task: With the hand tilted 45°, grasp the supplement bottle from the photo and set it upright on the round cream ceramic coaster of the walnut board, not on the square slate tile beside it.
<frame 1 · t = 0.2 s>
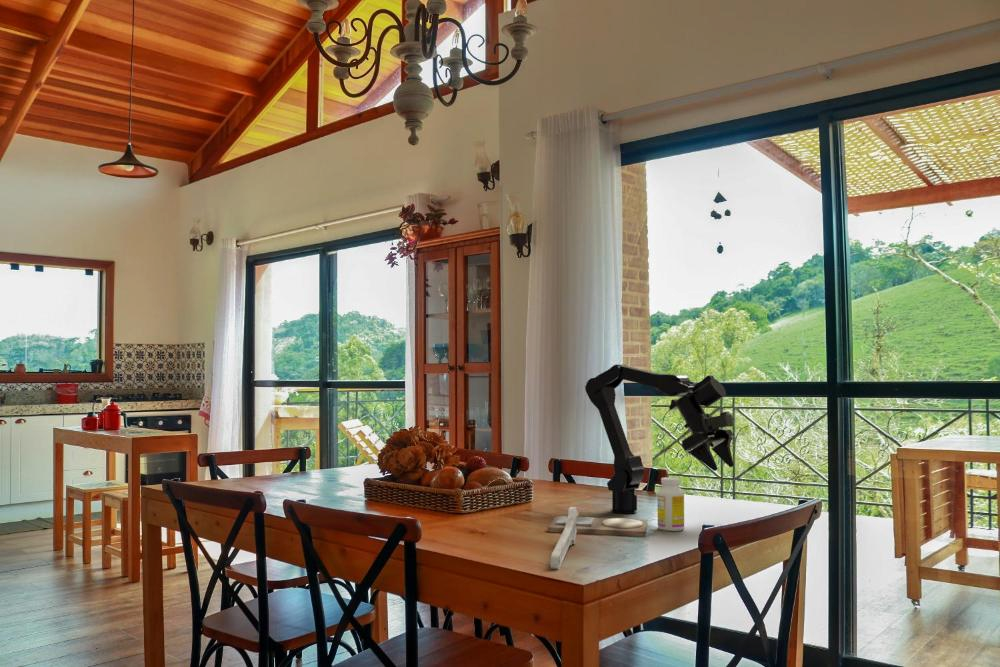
hand: (724, 468, 216), 15 cm above the table, tool tilted 35°, fingers open, 9 cm apart
coaster board: (598, 528, 212), on the table
supplement bottle: (670, 530, 211), on the table
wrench: (565, 555, 184), on the table
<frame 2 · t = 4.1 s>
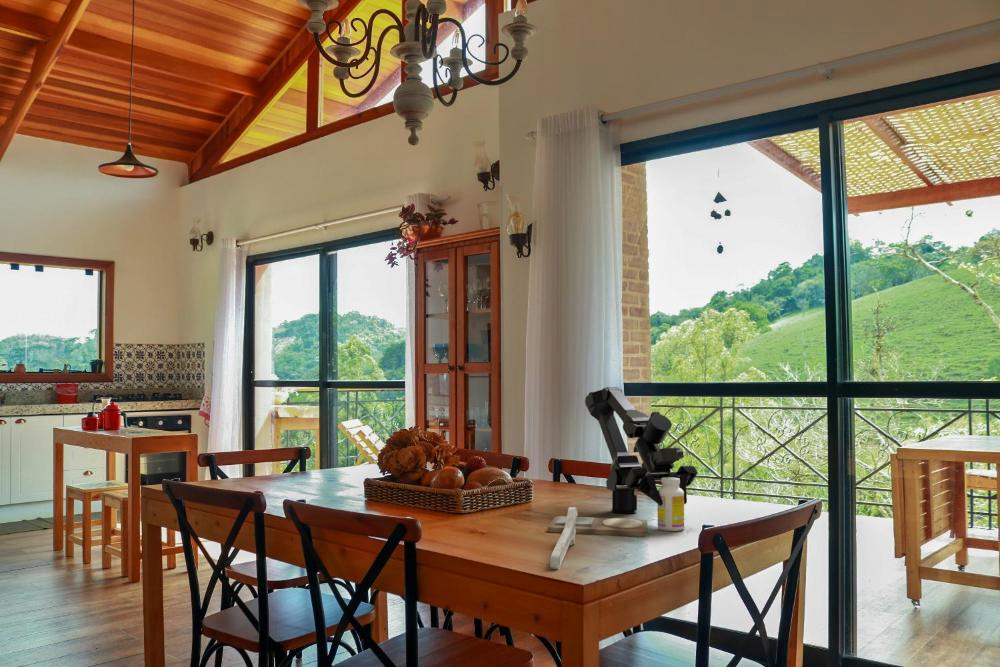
hand: (673, 503, 210), 7 cm above the table, tool tilted 45°, fingers closed on supplement bottle, 7 cm apart
supplement bottle: (670, 529, 211), on the table, touching gripper
everything else where it was.
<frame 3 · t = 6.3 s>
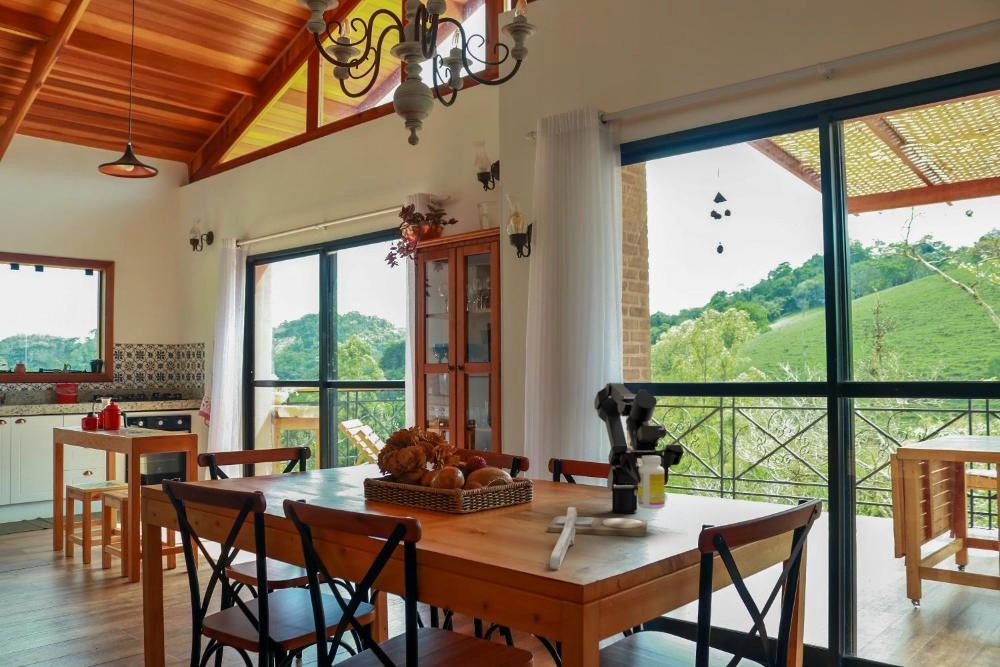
hand: (652, 481, 209), 12 cm above the table, tool tilted 45°, fingers closed on supplement bottle, 7 cm apart
supplement bottle: (651, 507, 211), point 5 cm above the table, touching gripper
everything else where it was.
when the fingers open (10 cm above the table, at t = 8.4 s): supplement bottle drops 1 cm, resting on coaster board.
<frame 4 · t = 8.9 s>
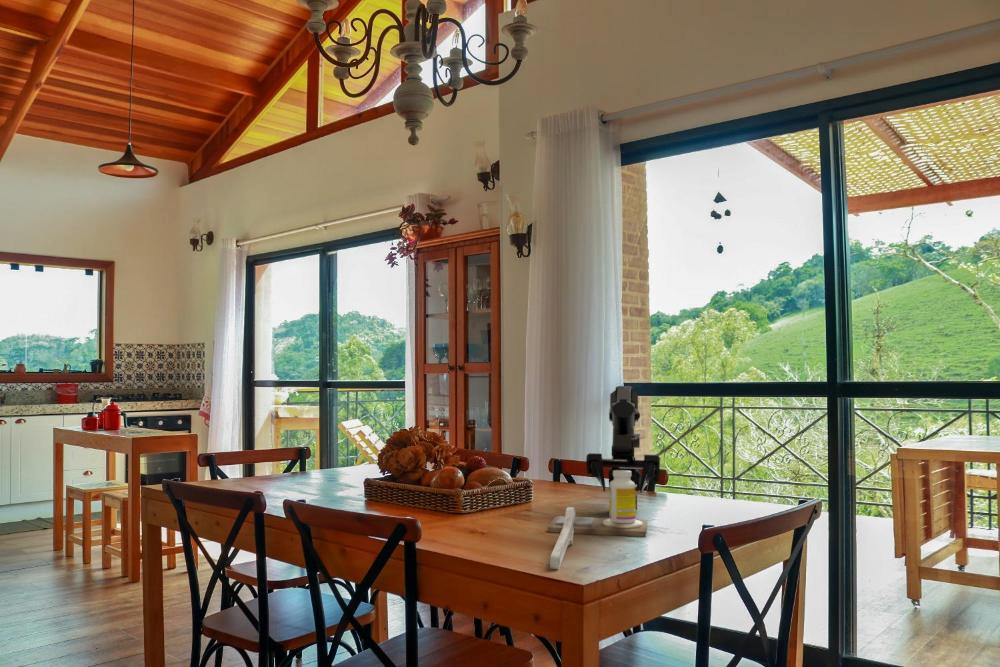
hand: (622, 491, 210), 10 cm above the table, tool tilted 45°, fingers open, 9 cm apart
supplement bottle: (622, 522, 211), point 2 cm above the table, touching coaster board
everything else where it was.
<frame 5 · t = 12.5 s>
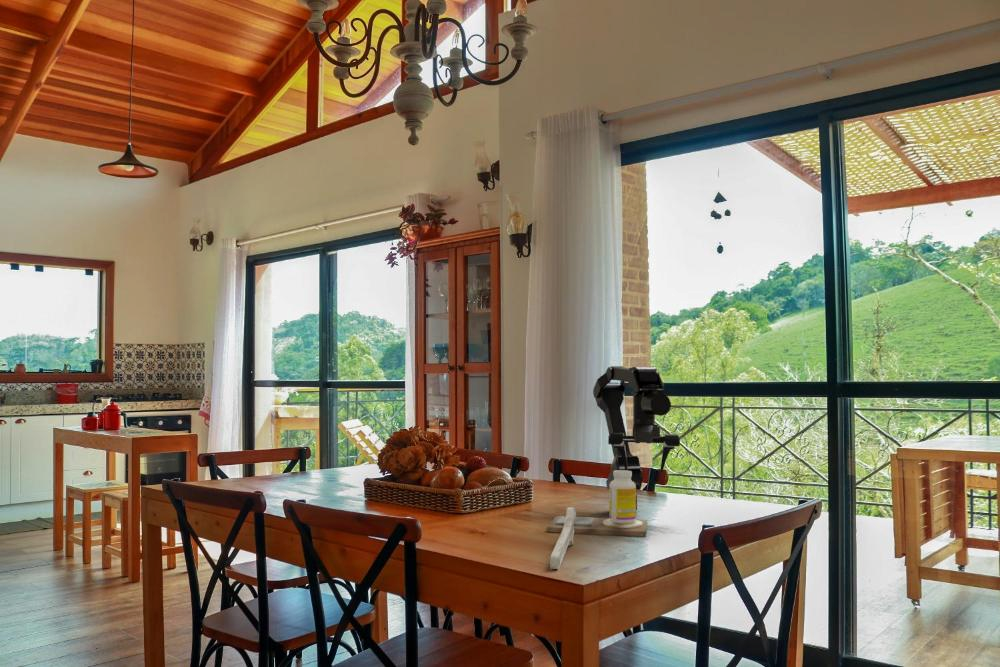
hand: (643, 471, 223), 13 cm above the table, tool pointing down, fingers open, 9 cm apart
nothing on the table moved.
at the end: supplement bottle 0.2 cm from the target spot on the coaster board, point 1.6 cm above the coaster board's base; supplement bottle tilted 0°; the gripper is holding nothing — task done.
